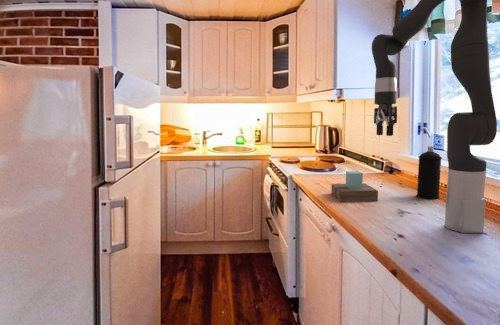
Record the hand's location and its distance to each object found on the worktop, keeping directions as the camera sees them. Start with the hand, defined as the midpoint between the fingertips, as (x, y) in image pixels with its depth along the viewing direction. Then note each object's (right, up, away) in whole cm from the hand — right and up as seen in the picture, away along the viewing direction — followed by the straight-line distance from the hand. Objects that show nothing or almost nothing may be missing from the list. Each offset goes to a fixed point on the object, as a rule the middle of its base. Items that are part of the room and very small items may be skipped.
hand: (384, 135), depth 135 cm
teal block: (-9, -20, +9) cm, 23 cm away
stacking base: (-9, -24, +9) cm, 27 cm away
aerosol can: (+20, -24, +8) cm, 32 cm away
